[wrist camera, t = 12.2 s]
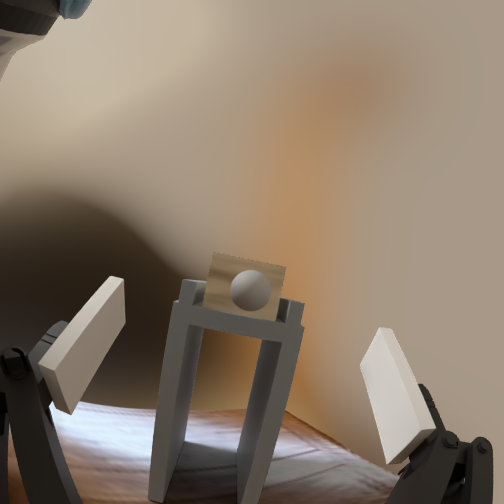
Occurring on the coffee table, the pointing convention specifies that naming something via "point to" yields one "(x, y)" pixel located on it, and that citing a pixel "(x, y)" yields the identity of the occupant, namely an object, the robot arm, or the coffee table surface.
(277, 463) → the coffee table surface
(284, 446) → the coffee table surface
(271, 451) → the shelf
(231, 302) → the maple block
